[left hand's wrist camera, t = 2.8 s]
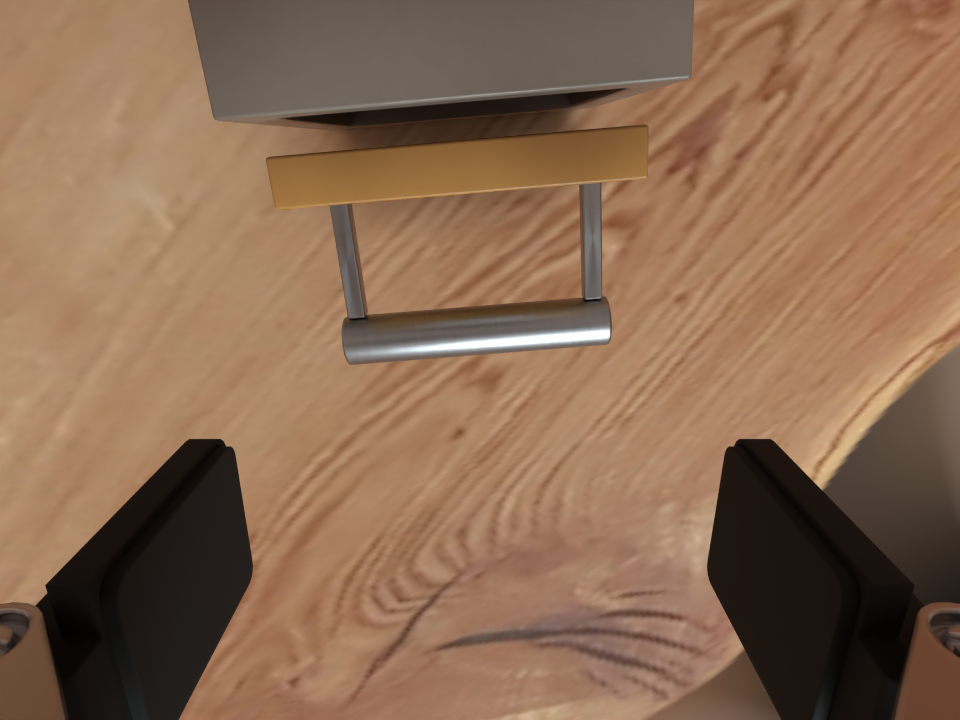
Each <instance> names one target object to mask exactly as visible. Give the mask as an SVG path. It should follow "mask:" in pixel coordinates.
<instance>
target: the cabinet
mask: <svg viewBox="0 0 960 720" xmlns="http://www.w3.org/2000/svg"><path fill="white" fill-rule="evenodd" d="M188 3H189V7H190V12H191V16H192V21H193V26H194V30H195V35H196V39H197V44H198V49H199V53H200V58H201V62H202V67H203V72H204V76H205V81H206V85H207V90H208V95H209V99H210V104H211V108H212V113H213V117H214V119H215V120H218V121H227V122H236V123H248V124H260V125H273V126H285V127H297V128H310V129H322V130H339V129H350V128H362V127H373V126H385V125H396V124H408V123H420V122H431V121H443V120H454V119H466V118H477V117H489V116H500V115H512V114H523V113H535V112H547V111H558V110H570V109H581V108H593V107H596V106H599V105H602V104H606V103H609V102H613V101H616V100H620V99H623V98H626V97H630V96H633V95H637V94H640V93H644V92H647V91H650V90H654V89H657V88H661V87H664V86H668V85H671V84H674V83H678V82H681V81H685V80H687V79H689V78H690V77H691V69H692V42H693V15H694V0H188Z"/></svg>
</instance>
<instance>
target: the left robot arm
mask: <svg viewBox="0 0 960 720" xmlns="http://www.w3.org/2000/svg"><path fill="white" fill-rule="evenodd" d="M252 571H253V563H252V556H251V550H250V543H249V537H248V531H247V525H246V518H245V512H244V506H243V500H242V493H241V487H240V481H239V474H238V468H237V462H236V456H235V452H234V449H233V448H232V447H226V445H225V443H224V441H222V440H221V439H189V440H187V441H186V442H185V443H184V444H183V445H182V446H181V447H180V448H179V449H178V450H177V451H176V452H175V453H174V454H173V455H172V456H171V457H170V458H169V459H168V460H167V461H166V462H165V463H164V464H163V465H162V467H161V468H160V469H159V470H158V471H157V472H156V473H155V474H154V475H153V476H152V477H151V478H150V479H149V480H148V481H147V482H146V483H145V484H144V485H143V486H142V487H141V488H140V489H139V490H138V491H137V492H136V493H135V494H134V495H133V496H132V497H131V498H130V499H129V500H128V501H127V502H126V503H125V504H124V505H123V506H122V507H121V508H120V509H119V510H118V512H117V513H116V514H115V515H114V516H113V517H112V518H111V519H110V520H109V521H108V522H107V523H106V524H105V525H104V526H103V527H102V528H101V529H100V530H99V531H98V532H97V533H96V534H95V535H94V536H93V537H92V538H91V539H90V540H89V541H88V542H87V543H86V544H85V545H84V546H83V547H82V548H81V549H80V550H79V551H78V552H77V553H76V554H75V555H74V557H73V558H72V559H71V560H70V561H69V562H68V563H67V564H66V565H65V566H64V567H63V568H62V569H61V570H60V571H59V572H58V573H57V574H56V575H55V576H54V577H53V578H52V579H51V580H50V581H49V582H48V583H47V584H46V585H45V586H46V589H47V592H48V593H47V594H46V595H45V596H44V597H43V598H42V599H41V601H40V602H39V603H38V604H37V605H36V606H33V605H31V604H29V603H16V602H12V603H5V604H0V720H179V718H180V716H181V714H182V712H183V710H184V708H185V706H186V704H187V703H188V701H189V699H190V697H191V695H192V693H193V691H194V689H195V687H196V685H197V683H198V681H199V679H200V678H201V676H202V674H203V672H204V670H205V668H206V666H207V664H208V662H209V660H210V658H211V656H212V655H213V653H214V651H215V649H216V647H217V645H218V643H219V641H220V639H221V637H222V635H223V633H224V631H225V630H226V628H227V626H228V624H229V622H230V620H231V618H232V616H233V614H234V612H235V610H236V608H237V607H238V605H239V603H240V601H241V599H242V597H243V595H244V593H245V591H246V589H247V587H248V585H249V583H250V581H251V577H252ZM707 571H708V577H709V581H710V583H711V585H712V587H713V589H714V591H715V593H716V595H717V597H718V599H719V601H720V603H721V605H722V607H723V608H724V610H725V612H726V614H727V616H728V618H729V620H730V622H731V624H732V626H733V628H734V630H735V631H736V633H737V635H738V637H739V639H740V641H741V643H742V645H743V647H744V649H745V651H746V653H747V654H748V656H749V658H750V660H751V662H752V664H753V666H754V668H755V670H756V672H757V674H758V676H759V677H760V679H761V681H762V683H763V685H764V687H765V689H766V691H767V693H768V695H769V697H770V699H771V701H772V702H773V704H774V706H775V708H776V710H777V712H778V714H779V716H780V718H781V720H960V604H954V603H948V602H944V603H931V604H929V605H927V606H924V605H923V604H922V603H921V602H920V601H919V599H918V598H917V597H916V596H915V595H914V594H913V593H912V592H913V589H914V584H913V583H912V582H911V581H910V580H909V579H908V578H907V577H906V576H905V575H904V574H903V573H902V572H901V571H900V570H899V569H898V568H897V567H896V566H895V565H894V564H893V563H892V562H891V561H890V560H889V559H888V558H887V557H886V555H885V554H884V553H883V552H882V551H881V550H880V549H879V548H878V547H877V546H876V545H875V544H874V543H873V542H872V541H871V540H870V539H869V538H868V537H867V536H866V535H865V534H864V533H863V532H862V531H861V530H860V529H859V528H858V527H857V526H856V525H855V524H854V523H853V522H852V521H851V520H850V519H849V518H848V517H847V516H846V515H845V514H844V513H843V512H842V510H840V508H839V507H838V506H837V505H836V504H835V503H834V502H833V501H832V500H831V499H830V498H829V497H828V496H827V495H826V494H825V493H824V492H823V491H822V490H821V489H820V488H819V487H818V486H817V485H816V484H815V483H814V482H813V481H812V480H811V479H810V478H809V477H808V476H807V475H806V474H805V473H804V472H803V471H802V470H801V469H800V468H799V467H798V465H797V464H796V463H795V462H794V461H793V460H792V459H791V458H790V457H789V456H788V455H787V454H786V453H785V452H784V451H783V450H782V449H781V448H780V447H779V446H778V445H777V444H776V443H775V442H774V441H773V440H771V439H739V440H738V441H736V443H735V445H734V447H728V448H727V449H726V452H725V456H724V462H723V468H722V474H721V481H720V487H719V493H718V500H717V506H716V512H715V518H714V525H713V531H712V537H711V543H710V550H709V556H708V563H707Z"/></svg>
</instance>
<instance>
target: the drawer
mask: <svg viewBox="0 0 960 720" xmlns="http://www.w3.org/2000/svg"><path fill="white" fill-rule="evenodd" d="M266 163H267V168H268V173H269V178H270V184H271V189H272V194H273V199H274V204H275V208H276V209H278V210H281V209H293V208H305V207H317V206H328V205H330V210H331V217H332V223H333V229H334V235H335V241H336V247H337V253H338V260H339V266H340V272H341V278H342V284H343V290H344V296H345V303H346V309H347V315H348V317H346V318H344V321H343V325H342V344H343V350H344V355H345V358H346V360H347V362H348V363H349V364H351V365H356V364H369V363H381V362H394V361H407V360H419V359H432V358H445V357H457V356H470V355H483V354H495V353H508V352H521V351H533V350H546V349H559V348H571V347H584V346H597V345H607V344H609V342H610V339H611V333H612V320H611V311H610V306H609V302H608V300H607V298H606V297H605V296H602V220H601V183H602V182H614V181H625V180H637V179H645V178H647V176H648V125H635V126H623V127H612V128H600V129H588V130H577V131H565V132H554V133H542V134H530V135H519V136H507V137H495V138H484V139H472V140H460V141H449V142H437V143H426V144H414V145H402V146H391V147H379V148H367V149H356V150H344V151H332V152H321V153H309V154H298V155H286V156H274V157H268V158H266ZM578 184H579V193H580V237H581V282H582V296H583V298H572V299H560V300H547V301H535V302H522V303H510V304H497V305H485V306H473V307H460V308H448V309H435V310H423V311H411V312H398V313H386V314H373V315H367V313H368V309H367V303H366V296H365V289H364V283H363V276H362V269H361V263H360V256H359V249H358V243H357V236H356V229H355V223H354V216H353V209H352V203H364V202H376V201H388V200H400V199H412V198H423V197H435V196H447V195H459V194H471V193H483V192H495V191H507V190H518V189H530V188H542V187H554V186H566V185H578Z"/></svg>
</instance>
